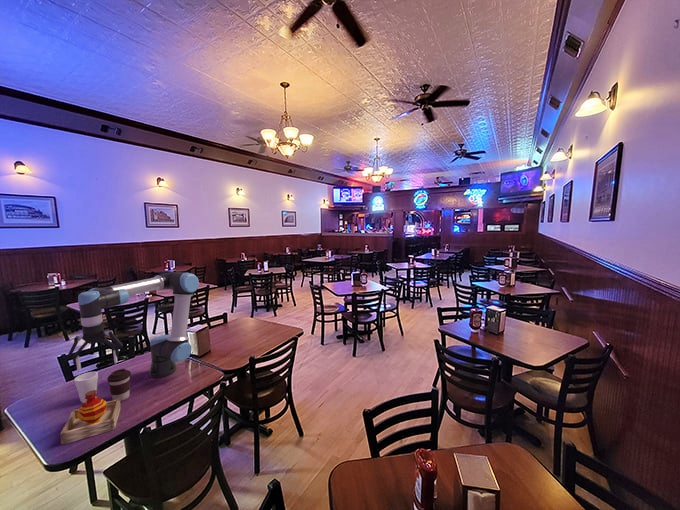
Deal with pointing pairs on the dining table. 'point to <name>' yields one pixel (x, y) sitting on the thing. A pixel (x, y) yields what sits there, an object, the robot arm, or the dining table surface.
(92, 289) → the robot arm
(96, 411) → the potion bottle
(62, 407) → the dining table surface
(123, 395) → the coffee cup
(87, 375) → the foam cup
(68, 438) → the tray
